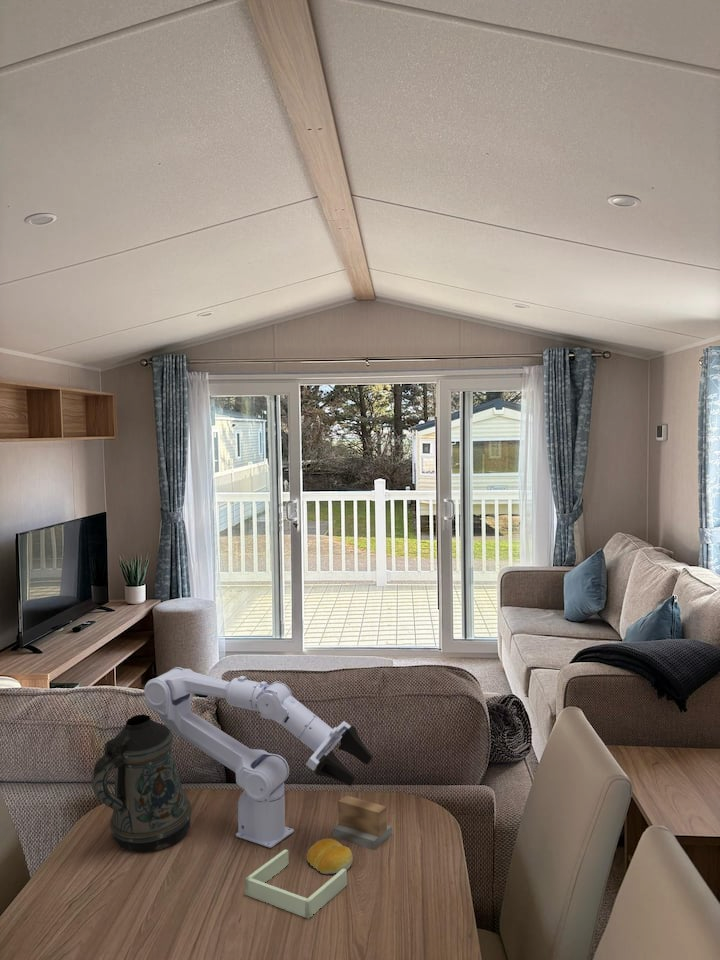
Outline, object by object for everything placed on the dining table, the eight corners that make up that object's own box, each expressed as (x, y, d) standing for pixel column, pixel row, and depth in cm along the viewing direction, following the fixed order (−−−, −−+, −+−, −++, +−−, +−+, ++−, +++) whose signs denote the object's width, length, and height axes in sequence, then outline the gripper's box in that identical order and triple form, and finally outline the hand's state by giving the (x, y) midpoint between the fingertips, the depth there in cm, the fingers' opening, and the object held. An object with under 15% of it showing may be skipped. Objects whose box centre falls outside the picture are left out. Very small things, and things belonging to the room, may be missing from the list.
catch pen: (245, 894, 146) (244, 878, 146) (285, 864, 157) (285, 849, 156) (308, 919, 139) (308, 902, 139) (346, 885, 149) (346, 869, 149)
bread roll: (329, 881, 151) (328, 860, 151) (300, 862, 158) (300, 842, 157) (362, 865, 156) (362, 845, 156) (333, 847, 163) (333, 828, 163)
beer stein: (203, 809, 176) (195, 702, 171) (167, 866, 157) (156, 747, 153) (133, 804, 179) (123, 698, 174) (89, 859, 160) (76, 742, 156)
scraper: (333, 837, 167) (332, 804, 167) (351, 823, 173) (351, 791, 172) (374, 850, 162) (373, 816, 161) (391, 835, 167) (391, 803, 167)
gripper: (297, 733, 155) (353, 778, 152) (333, 697, 168) (385, 738, 164) (284, 757, 158) (338, 802, 155) (319, 720, 171) (371, 761, 167)
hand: (362, 771), depth 160 cm, fingers open, 7 cm apart
